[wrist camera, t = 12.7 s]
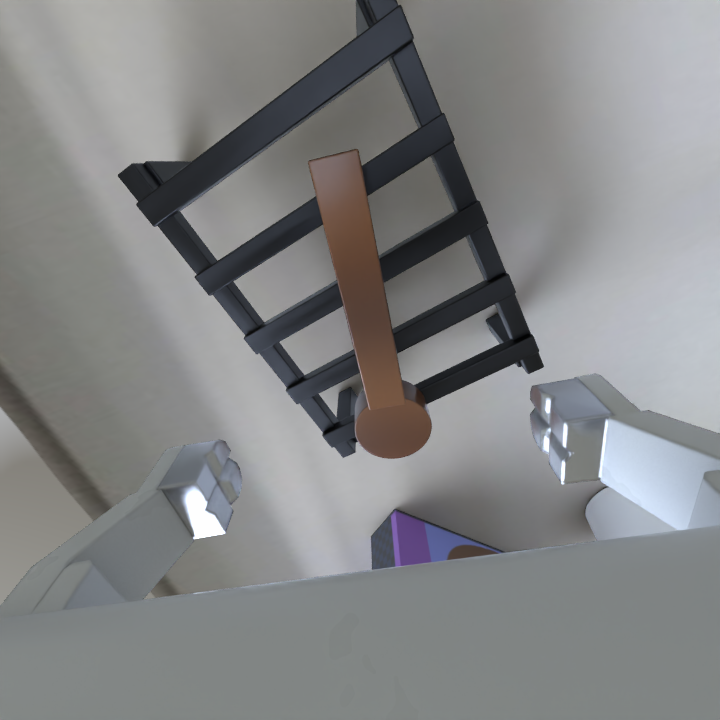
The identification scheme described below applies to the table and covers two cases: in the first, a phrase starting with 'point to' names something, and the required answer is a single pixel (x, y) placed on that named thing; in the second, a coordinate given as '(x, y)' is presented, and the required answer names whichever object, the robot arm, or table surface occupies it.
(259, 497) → the table surface
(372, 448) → the plank on round base
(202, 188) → the rack
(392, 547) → the cereal box
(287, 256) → the table surface
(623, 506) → the cup
